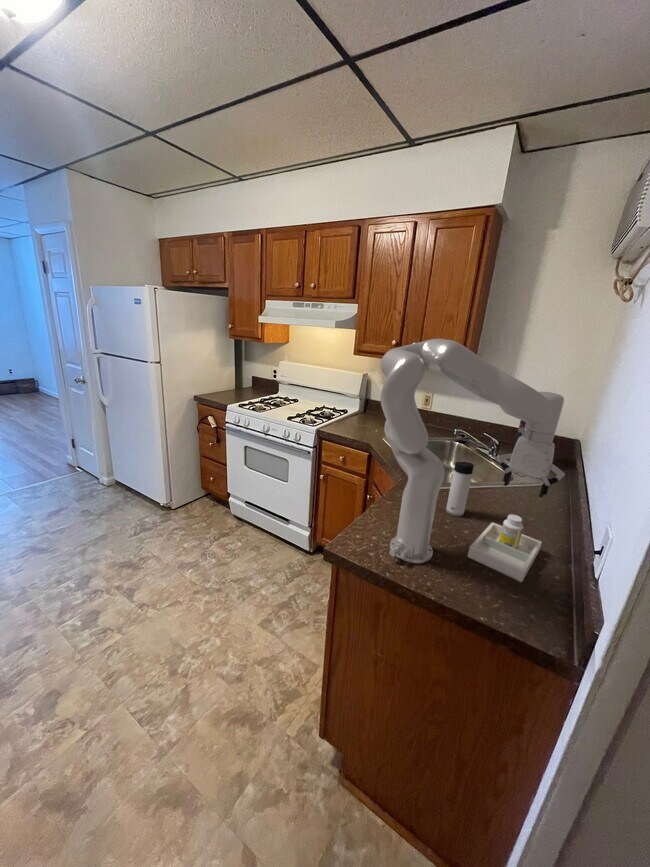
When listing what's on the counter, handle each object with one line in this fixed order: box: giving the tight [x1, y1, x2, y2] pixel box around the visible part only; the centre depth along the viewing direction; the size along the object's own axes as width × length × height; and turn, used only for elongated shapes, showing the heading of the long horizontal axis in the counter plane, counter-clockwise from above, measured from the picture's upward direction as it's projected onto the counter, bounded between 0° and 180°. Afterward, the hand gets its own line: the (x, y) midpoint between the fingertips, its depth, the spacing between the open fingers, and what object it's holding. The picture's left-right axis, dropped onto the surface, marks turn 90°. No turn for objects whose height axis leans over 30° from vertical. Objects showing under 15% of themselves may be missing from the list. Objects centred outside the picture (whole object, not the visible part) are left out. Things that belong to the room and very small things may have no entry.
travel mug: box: [445, 461, 475, 517], centre depth 129 cm, size 6×7×20 cm
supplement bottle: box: [499, 514, 524, 549], centre depth 111 cm, size 6×6×10 cm
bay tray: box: [467, 521, 542, 583], centre depth 109 cm, size 20×15×4 cm
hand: (523, 490), depth 107 cm, fingers open, 9 cm apart
